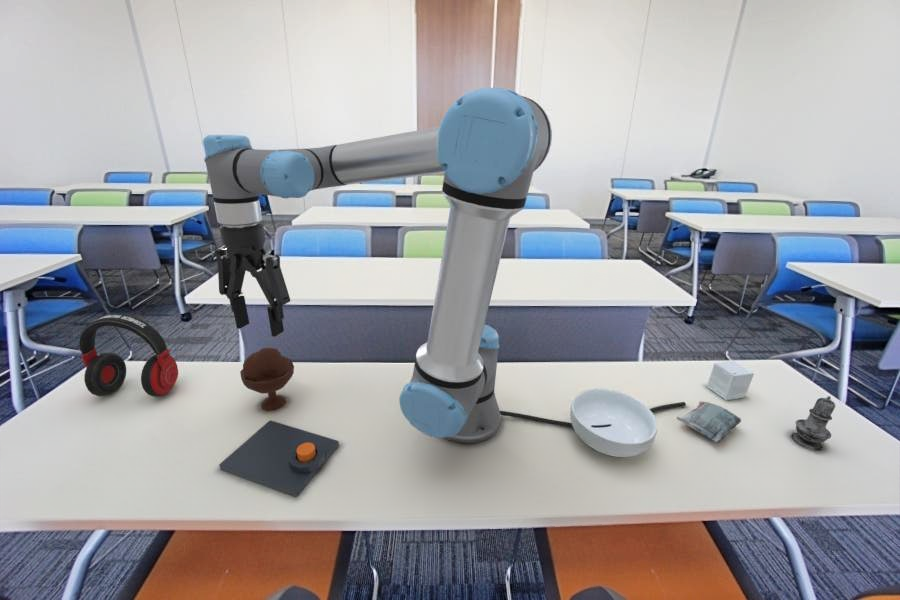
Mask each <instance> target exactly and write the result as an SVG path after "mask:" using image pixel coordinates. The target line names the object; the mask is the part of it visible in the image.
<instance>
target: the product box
mask: <svg viewBox="0 0 900 600" xmlns="http://www.w3.org/2000/svg"><path fill="white" fill-rule="evenodd" d="M754 375H755V373H754V372H753V371H751V370H750V369H748V368H746V367H745V366H743V365H741V364H739V363H738V362H737V361H735V360H727V361H720V362H714V363H713V367H712V369H711V372H710V376H709V379H708V382H707V385H706V387H707V388H708V389H709V390H711V391H712V392H714V393H715V394H717V396H719V397H721V398H722V399H723V400H725V401H730V400H731V401H732V400H737V399H743V398H746V396H747V393H748V391H749V388H750V385H751V382H752V380H753V377H754ZM710 385H711V386H712V387H711V386H710ZM714 388H715V389H716V390H715V389H714ZM722 394H723V395H722ZM741 395H742V396H741Z"/></svg>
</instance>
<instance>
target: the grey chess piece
mask: <svg viewBox="0 0 900 600" xmlns="http://www.w3.org/2000/svg"><path fill="white" fill-rule="evenodd" d="M831 399H832V398H831V396H830V395H829V396H826V397H819V398H817V399H816V402H815V404H814V405H813V407H812V408H809V410H808V412H809V414H808V416H807V418H806V419H802V418H801V419H797V420H796V421H795V432H792V433H791V435H790V437H791V439H792V440H793V442H795V443H796V444H797V445H799V446H801V447H802V448H805V449H806V450H810V451H817V452H818V451H819V452H820V451H823V448H824V447H823V446H824V445H823V444H822V443H824V442H827V441H828V440H829V439H831V438H832V433H831V432H830V430H828V428H827V425H828V423H829V421H832V420H833V417H832V414H833V412H834V410H835V409H836V403H835V402H834V401H833V400H831Z"/></svg>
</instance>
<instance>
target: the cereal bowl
mask: <svg viewBox="0 0 900 600" xmlns="http://www.w3.org/2000/svg"><path fill="white" fill-rule="evenodd" d="M649 409H650V408H649V407H648V406H646V404H645V403H643V402H641V401H640V400H638V399H637V398H635V397H633V396H631V395H629V394H627V393H623V392H621V391H618V390H614V389H608V388H589V389H585V390H582V391H581V392H579V393H577V394H576V395H575V396H574V397H573V399H572V401H571V404H570V411H569V413H570V415H569V416H570V423H572V425H573V430H574V432H575V433H576V435H577V436H578V437H579V438H580V440H582V441H583V443H585V444H586V445H587V446H589V447H590V448H592V449H593V450H595V451H597V452H599V453H601V454H604V455H607V456H611V457H617V458H630V457H635V456H638V455H640V454H642V453H644V452H646V451H647V450H648V449H649V448H651V446H652V444H653V443H654V441H655V438H656V436H657V434H658V433H657V432H658V426H659V425H658V421H657V418H656V416H655V415H654V412H653V413H652V412H651V411H650V410H649ZM607 424H611V426H609V427H602V428H594V427H591V426H592V425H607Z"/></svg>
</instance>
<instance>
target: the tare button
mask: <svg viewBox="0 0 900 600" xmlns="http://www.w3.org/2000/svg"><path fill="white" fill-rule="evenodd" d="M315 455H316V453H315V446H314V444H312V443H303V444H301V445H300V446H299V447H298V448H297V457H298V460H299V461H300V462H309V461H311V460H312V459H313V458H314V457H315Z"/></svg>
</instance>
